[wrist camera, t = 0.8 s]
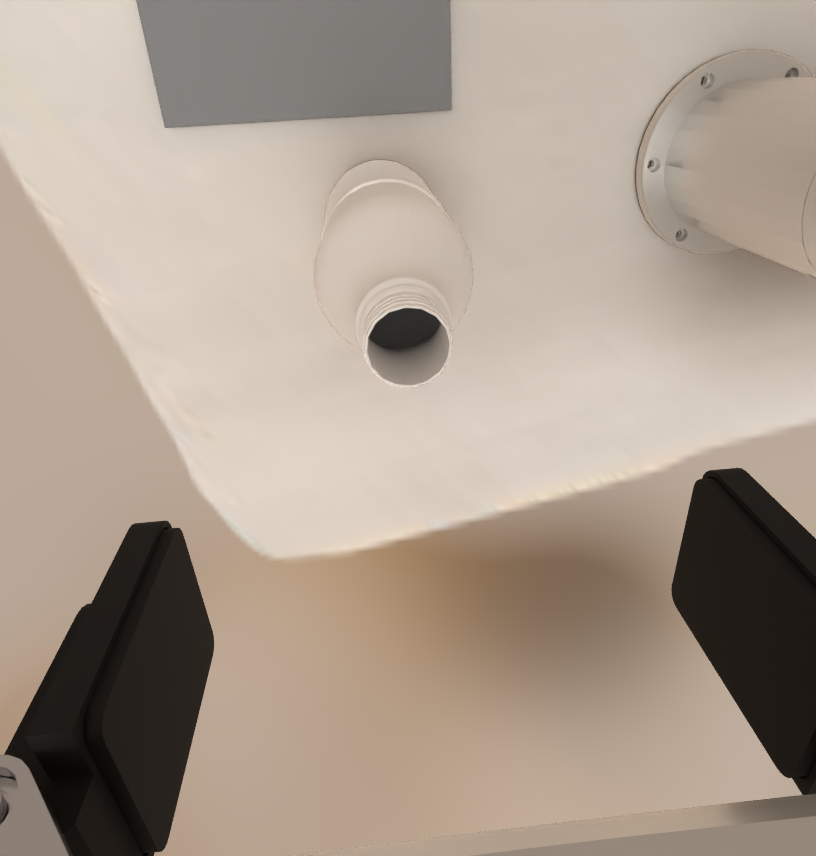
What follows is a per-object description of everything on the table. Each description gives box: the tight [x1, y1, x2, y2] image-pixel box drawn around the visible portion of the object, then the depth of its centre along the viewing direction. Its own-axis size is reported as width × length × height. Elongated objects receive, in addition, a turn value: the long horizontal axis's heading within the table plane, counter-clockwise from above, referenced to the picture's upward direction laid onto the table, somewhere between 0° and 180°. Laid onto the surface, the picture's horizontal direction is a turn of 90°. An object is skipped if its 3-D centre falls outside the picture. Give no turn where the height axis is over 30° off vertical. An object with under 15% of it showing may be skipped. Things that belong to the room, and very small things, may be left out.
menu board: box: [136, 0, 451, 128], centre depth 36 cm, size 18×11×1 cm, turn 93°
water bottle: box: [314, 160, 473, 388], centre depth 31 cm, size 7×7×25 cm
